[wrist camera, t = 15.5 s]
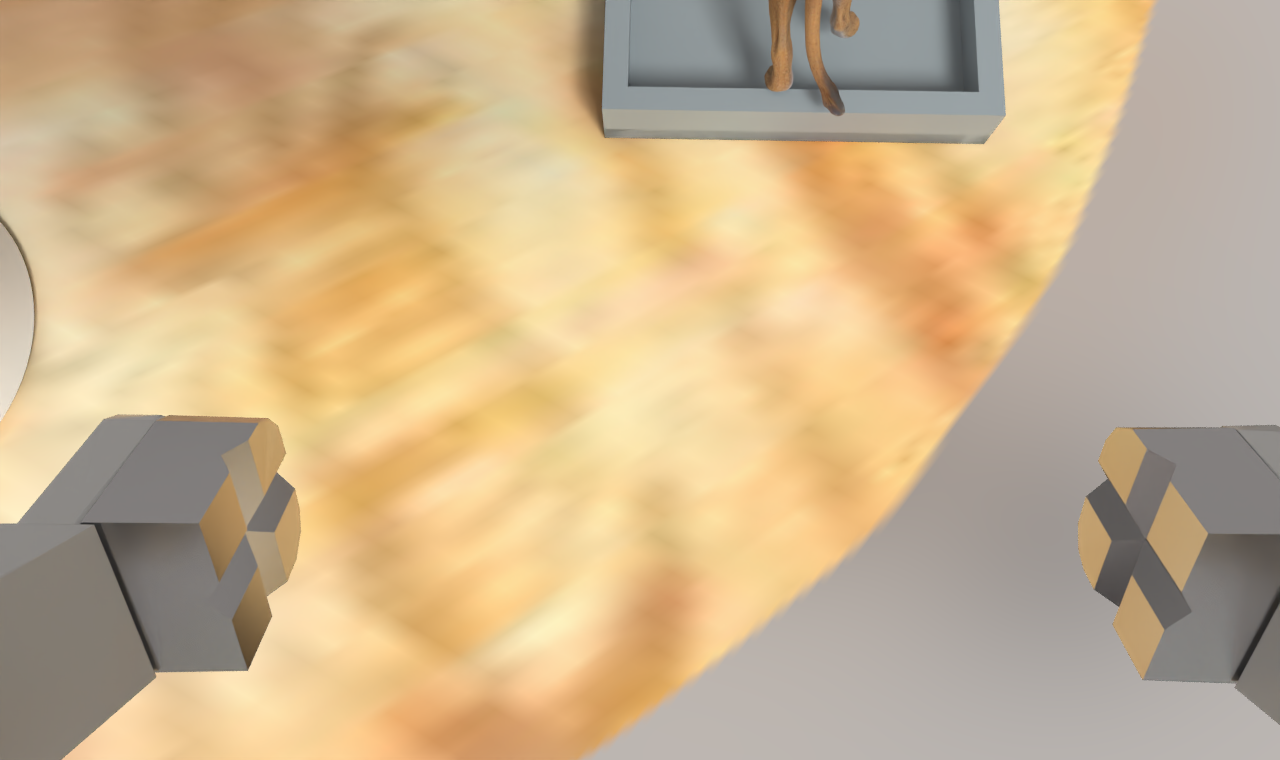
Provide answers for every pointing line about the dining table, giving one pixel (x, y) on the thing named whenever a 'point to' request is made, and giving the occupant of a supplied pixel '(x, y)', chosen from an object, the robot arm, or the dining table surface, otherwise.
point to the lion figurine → (807, 46)
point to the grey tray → (803, 72)
